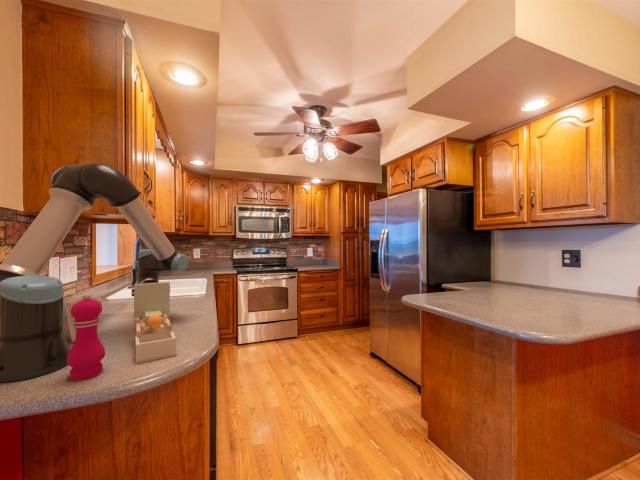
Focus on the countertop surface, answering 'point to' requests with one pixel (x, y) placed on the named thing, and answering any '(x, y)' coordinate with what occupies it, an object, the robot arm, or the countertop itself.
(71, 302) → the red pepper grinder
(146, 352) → the open beige box
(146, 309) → the lid
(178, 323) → the countertop surface
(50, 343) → the robot arm
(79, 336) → the pepper mill
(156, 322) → the ball
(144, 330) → the launcher
